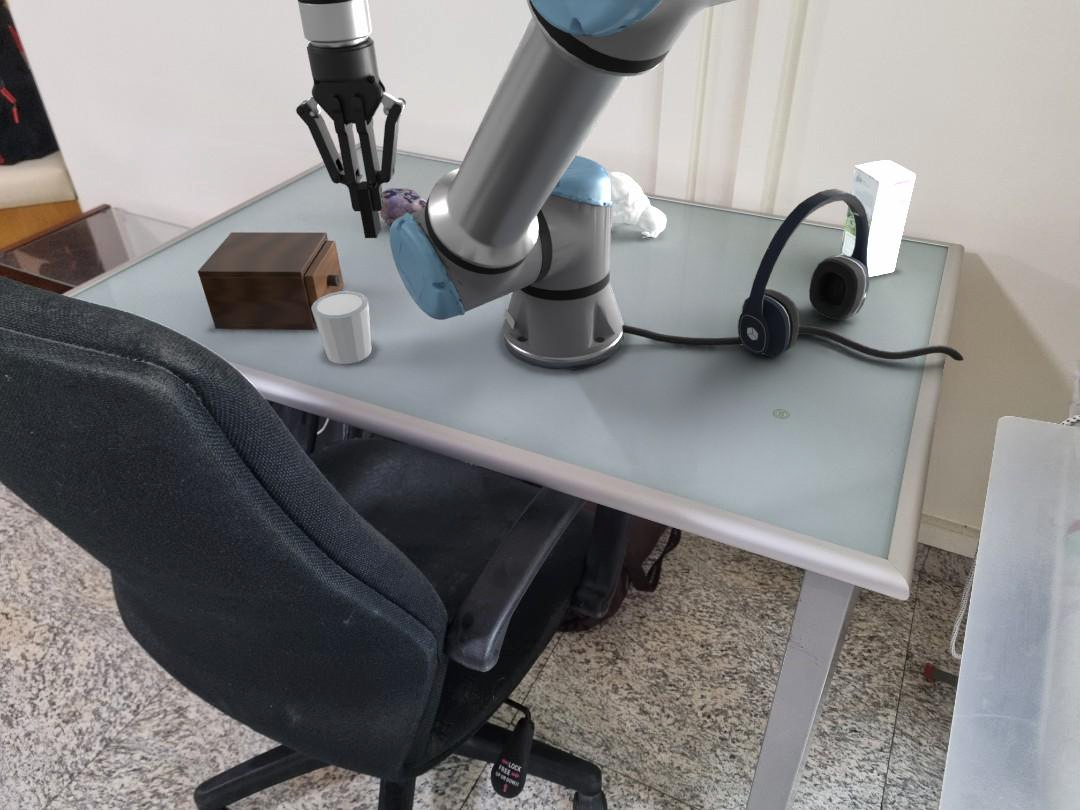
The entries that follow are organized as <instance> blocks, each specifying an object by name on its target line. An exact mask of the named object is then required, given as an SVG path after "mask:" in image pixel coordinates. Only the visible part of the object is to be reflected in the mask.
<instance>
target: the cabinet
mask: <svg viewBox="0 0 1080 810" xmlns="http://www.w3.org/2000/svg"><path fill="white" fill-rule="evenodd" d="M326 241H329V237H328V233H327V232H296V231H295V232H291V231H290V232H287V231H286V232H284V231H283V232H282V231H281V232H273V231H272V232H271V231H270V232H269V231H268V232H264V231H263V232H257V231H256V232H253V231H251V232H248V231H247V232H245V231H244V232H241V231H240V232H239V231H238V232H233V231H232V232H230V233H229V234H228V236H227V237H226V238H225V239H224V240H223V241H222V242H221V244H220V245H219V246H218V247H217V248H216V250H214V251H213V253H212V254H211V255H210V256H209V258H207V260H206V261H205V262H204V263H203V264H202V265H201V267H200V268H199V269H198V270H197V275H198V277H199V280H200V284H201V286H202V289H203V293H204V296H205V300H206V303H207V306H208V309H209V312H210V315H211V319H212V321H213V322H212V323H213V325H214V329H217V330H218V329H219V330H293V331H295V330H297V331H299V330H301V331H314V330H315V329H316V327H317V324H316V322H315V321H314V318H313V314H312V309H311V305H310V301H309V296H308V292H307V287H306V283H305V279H304V273H305V272H306V270H307V269H308V267H309V266H310V264H311V262H312V261H313V259H314V258H315V256H316V255H317V253H318V254H319V252H320V250H321V249H322V247H323V246H324V244H325V243H326Z"/></svg>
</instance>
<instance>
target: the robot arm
mask: <svg viewBox="0 0 1080 810" xmlns="http://www.w3.org/2000/svg"><path fill="white" fill-rule="evenodd" d="M734 1H735V2H736V0H526V3H527V6H528V9H529V12H530V14H531V15H530V17H529V19H528V21H527V23H526V26H525V28H524V30H523V32H522V34H521V36H520V39H519V41H518V43H517V44H516V47H515V50H514V51H513V53H512V55H511V58H510V59H509V61H508V64H507V66H506V68H505V70H504V72H503V74H502V77H501V79H500V81H499V83H498V85H497V88H496V90H495V92H494V94H493V96H492V98H491V101H490V103H489V105H488V107H487V109H486V111H485V112H484V115H483V117H482V119H481V121H480V123H479V126H478V128H477V130H476V132H475V134H474V136H473V139H472V141H471V142H470V145H469V147H468V149H467V151H466V153H465V156H464V158H463V160H462V162H461V164H460V166H459V167H458V168H456V169H453V170H451V171H449V172H447V173H445V174H444V175H442V176H441V177H440V178H439V179H438V180H437V182H436V183H435V184H434V185H433V187H432V189H431V191H430V193H429V195H428V197H427V199H426V204H425V207H424V208H423V209H421V210H419V211H417V212H414V213H411V214H410V213H405V214H404V215H403V216H401V217H399V218H398V219H396V220H395V221H394V222H393V223H392V225H391V227H389V228H390V229H389V246H390V250H391V254H392V258H393V261H394V264H395V268H396V270H397V273H398V275H399V277H400V279H401V281H402V283H403V285H404V287H405V289H406V291H407V292H408V294H409V296H410V297H411V299H412V300H413V301H414V303H415V304H416V306H417V307H418V308H419V309H420V310H421V311H422V312H423V313H424V314H426V315H427V316H429V317H430V318H432V319H434V320H437V321H443V320H447V319H451V318H454V317H457V316H464V315H466V313H467V312H469V311H471V310H473V309H476V308H479V307H481V306H483V305H485V304H488V303H490V302H493V301H495V300H497V299H501V298H502V297H505V296H507V295H510V294H511V293H512V294H511V297H510V301H509V304H508V307H507V308H505V311H504V314H503V317H504V321H503V326H502V330H503V331H502V333H503V343H504V347H505V348H506V350H507V351H508V352H509V354H510V355H511V356H512V357H514V358H515V359H516V360H518V361H520V362H522V363H524V364H527V365H529V366H533V367H535V368H539V369H540V368H541V369H547V370H554V371H555V370H557V371H562V370H563V371H564V370H566V371H567V370H577V369H583V368H586V367H591V366H594V365H597V364H600V363H602V362H604V361H606V360H607V359H609V358H611V357H613V356H614V355H615V354H616V353H617V352H618V351H619V349H620V348H621V347H622V344H623V342H624V333H625V334H628V335H634V336H638V337H643V338H645V339H650V340H652V341H655V342H656V341H657V342H661V343H667V344H675V345H686V346H704V347H705V346H707V347H708V346H709V347H710V346H715V347H716V346H737V345H742V343H741V341H740V339H739V336H729V337H691V336H681V335H672V334H664V333H659V332H655V331H652V330H648V329H645V328H640V327H635V326H631V325H628V324H627V325H626V324H624V320H623V316H622V313H621V311H620V308H619V306H618V303H617V299H616V296H615V294H614V291H613V288H612V285H611V276H610V275H611V243H612V228H611V211H612V205H613V201H612V199H611V187H610V176H609V174H608V173H609V171H608V170H607V169H606V168H605V167H604V166H603V165H601V164H600V163H599V162H597V161H595V160H593V159H590V158H587V157H585V156H581V155H577V154H578V153H579V152H580V150H581V148H582V146H583V145H584V143H586V141H587V139H588V137H589V136H590V135H591V133H592V131H594V128H595V127H596V125H597V124H598V122H599V121H600V119H601V118H602V116H603V115H604V113H605V112H606V110H607V109H608V107H609V106H610V104H611V103H612V101H613V99H614V98H615V96H616V95H617V94H618V92H619V90H620V89H621V88H622V87H623V85H624V83H625V82H626V81H627V78H628V77H637V76H642V75H644V74H647V73H650V72H651V71H653V70H654V69H657V67H658V66H659V65H660V64H661V63H662V62H663V61H664V60H665V58H666V57H667V55H668V54H669V52H670V51H671V49H672V48H673V47H674V46H675V44H676V43H677V41H678V40H679V38H680V37H681V35H682V34H683V33H684V31H685V30H686V28H687V27H688V26H689V24H690V23H691V21H692V20H693V19H694V17H695V16H696V15H697V14H699V13H700V12H701V11H702V10H704V9H707V8H711V7H714V6H718V5H722V4H726V3H730V2H734ZM297 4H298V5H297V6H298V11H299V15H300V20H301V25H302V32H303V36H304V38H305V39H306V40H307V42H309V43H308V44H307V46H306V51H307V56H308V57H307V58H308V62H309V66H310V71H311V76H312V80H313V85H312V88H311V96H310V97H309V98H308V99H305V100H303V101H302V102H301V103H300V104H299V105H298V106H297V107H296V108H295V112H296V114H297V115H298V116H299V118H300V119H301V120H302V122H304V124H306V126H307V127H308V130H309V132H310V135H311V137H312V139H313V141H314V144H315V147H316V148H317V150H318V152H319V155H320V157H321V159H322V162H323V164H324V166H325V169H326V171H327V173H328V175H329V178H330V180H331V182H332V183H334V184H337V185H338V184H341V185H343V186H344V185H345V186H346V187H347V189H348V192H349V198H350V203H351V208H352V210H353V212H359V214H360V218H361V223H362V229H363V234H364V239H378V237H379V234H380V232H381V231H382V226H381V225H382V224H381V220H380V218H381V217H380V211H381V210H382V208H383V206H384V198H383V191H384V190H383V185H382V184H388V183H390V182H391V180H392V178H393V176H394V175H395V171H396V160H397V151H398V150H397V148H398V138H399V130H400V129H399V128H400V118H401V116H402V114H403V111H404V110H405V108H406V105H407V102H406V100H405V99H404V98H403V97H397V98H396V97H395V96H394V95H391V94H390V93H388V92H386V87H385V85H384V83H383V82H382V80H381V77H380V74H379V67H378V60H377V53H376V47H375V41H374V40H373V39H372V37H370V35H371V34H372V32H373V27H372V21H371V14H370V7H369V1H368V0H297ZM381 104H382V106H383V110H382V111H383V114H384V115H385V116H386V117H385V120H384V121H385V122H384V129H383V143H382V155H381V165H380V160H379V154H378V149H377V142H376V137H375V131H374V130H375V128H374V116H375V114H376V113H377V111H378V109H379V107H380V105H381ZM322 110H323V111H324V112H325V113H326V115H327V116H328V117H329V118H330V119H331V120H332V121H333V126H334V131H335V134H336V135H337V140H338V146H339V151H340V154H339V151H338V150H337V147H336V144H335V142H334V139H333V137H332V135H331V133H330V131H329V128H328V127H327V124H326V122H325V120H324V117H323V115H322V114H321V113H322ZM354 125H355V130H356V133H357V135H358V140H359V145H360V146H359V147H360V149H361V150H360V151H361V157H362V163H363V168H364V174H365V180H366V181H365V180H362V181H361V179H362V178H363V174H361V170H360V169H361V168H360V163H359V156H358V152H357V151H358V150H357V146H356V140H355V139H356V138H355V134H354V127H353V126H354ZM800 334H801V335H803V334H804V335H812V336H819V337H822V338H826V339H829V340H832V341H834V342H836V343H839V344H841V345H843V346H845V347H847V348H849V349H852V350H854V351H856V352H858V353H862V354H865V355H867V356H871V357H874V358H879V359H886V360H904V359H905V360H906V359H913V358H916V357H921V356H927V355H931V354H943V355H947V356H949V357H950V358H951V359H953V360H954V361H958V362H961V361H964V357H963V355H962V354H961V353H960V352H959V351H958V350H956V349H955V348H953V347H950V346H947V345H943V344H933V345H932V344H931V345H926V346H921V347H916V348H912V349H907V350H898V351H897V350H896V351H895V350H893V351H892V350H885V349H879V348H875V347H871V346H868V345H866V344H863V343H861V342H858V341H855V340H854V339H851V338H849V337H846V336H844V335H843V334H841V333H838V332H834V331H832V330H829V329H826V328H821V327H816V326H809V325H799V331H798V335H800Z"/></svg>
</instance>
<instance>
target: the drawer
mask: <svg viewBox="0 0 1080 810" xmlns="http://www.w3.org/2000/svg"><path fill="white" fill-rule="evenodd" d="M341 269H342V268H341V264H340V260H339V254H338V250H337V243H336V240H328V241H326V243H325V244H324V246H323V247H322V249H321V250H320V252H319V254H318V253H317V255H316V256H315V258H314V259H313V261H312V262H311V264H310V266H309V267H308V269H307V270H306V272H305V273H304V279H305V283H306V287H307V292H308V296H309V301H310V305H311V308H312V305H313V303H314V302H315V301H316V300H318V299H319V298H320V297H323V296H325V295H327V294H330V293H335V292H340V291H342V288H343V286H344V279H343V275H342V270H341ZM312 314H313V312H312ZM313 318H314V315H313ZM314 321H315V318H314ZM315 322H316V321H315Z"/></svg>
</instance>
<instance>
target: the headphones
mask: <svg viewBox="0 0 1080 810" xmlns="http://www.w3.org/2000/svg"><path fill="white" fill-rule="evenodd" d="M835 202H843V203H845V204H846V205H847V207H848V206H849V207H850V209H851V211H852V213H853V215H854V219H855V226H856V238H855V246H854V250H853V253H852V255H851V256H846V255H839V254H835V255H832V256H829V257H827V258H825V259H823V260H822V261H820V262H819V263H818V264H817V266H816V267H815V269H814V271H813V274H812V276H811V280H810V285H809V291H808V292H809V297H808V298H809V302H810V304H811V306H812V308H813V309H814V310H815V311H816V312H817V313H818V314H820V315H822V316H823V317H825V318H828V319H831V320H837V321H839V320H840V321H841V320H845V319H848V318H851V317H853V316H854V315H856V314H858V313H859V312H860V310H862V308H863V306H864V303H865V301H866V299H867V296H868V292H869V287H870V277H869V270H868V262H867V254H868V241H869V225H868V219H867V215H866V211H865V208H864V206H863V204H862V203H861V201H860V200H859V199H858V198H857V197H856V196H854V195H852V194H851V192H850V193H849V192H846V191H843V190H840V189H838V188H831V189H825V190H822V191H819V192H817V193H815V194H813V195H810V196H809V197H807V198H806V199H804V200H803V201H802V202H800V203H798V204H797V205H796V207H794V209H792V210H791V212H790V213H789V214H788V215H787V216H786V218H785V219H784V221H783V222H782V223H781V224H780V226H779V227H778V229H777V230H776V231H775V234H774V235H773V237H772V239H771V240H770V242H769V244H768V245H767V246H768V247H767V248H766V251H765V253H764V254H763V257H762V259H761V261H760V263H759V265H758V268H757V271H756V274H755V276H754V279H753V282H752V286H751V288H750V293H749V296H748V297H747V298H746V299H745V300H744V302H743V304H742V307H741V313H740V315H739V318H738V322H737V323H738V324H737V334H738V337H739V339H740V341H741V343H742V344H741V345H742V346H743V347H744V348H745V349H746V350H748V351H750V352H751V353H753V354H755V355H765V356H768V357H772V358H776V357H779V356H780V355H782V354H784V353H785V352H786V351H788V350H790V349H791V348H792V347H793V346H794V345H795V343H796V342H797V339H798V336H799V334H798V331H799V326H800V314H799V309H798V308H797V306H796V304H795V302H794V300H792V299H791V298H790V297H789V296H787V295H786V294H785V293H783V292H780V291H778V290H775V289H772V288H771V289H770V288H767V286H768V283H769V281H770V278H771V276H772V273H773V271H774V268H775V266H776V264H777V261H778V260H779V257H780V255H781V254H782V252H783V250H784V248H785V247H786V246H787V244H788V241H789V240H790V238H791V237H792V236H793V235H794V233H795V232H796V231H797V229H798V228H799V227H800V225H801V224H802V223H803V222H804V221H805V220H806V219H807V218H808V217H809V216H810V215H811V214H813V213H815V212H816V211H817V210H818V209H820V208H822V207H824V206H826V205H828V204H831V203H835Z"/></svg>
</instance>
